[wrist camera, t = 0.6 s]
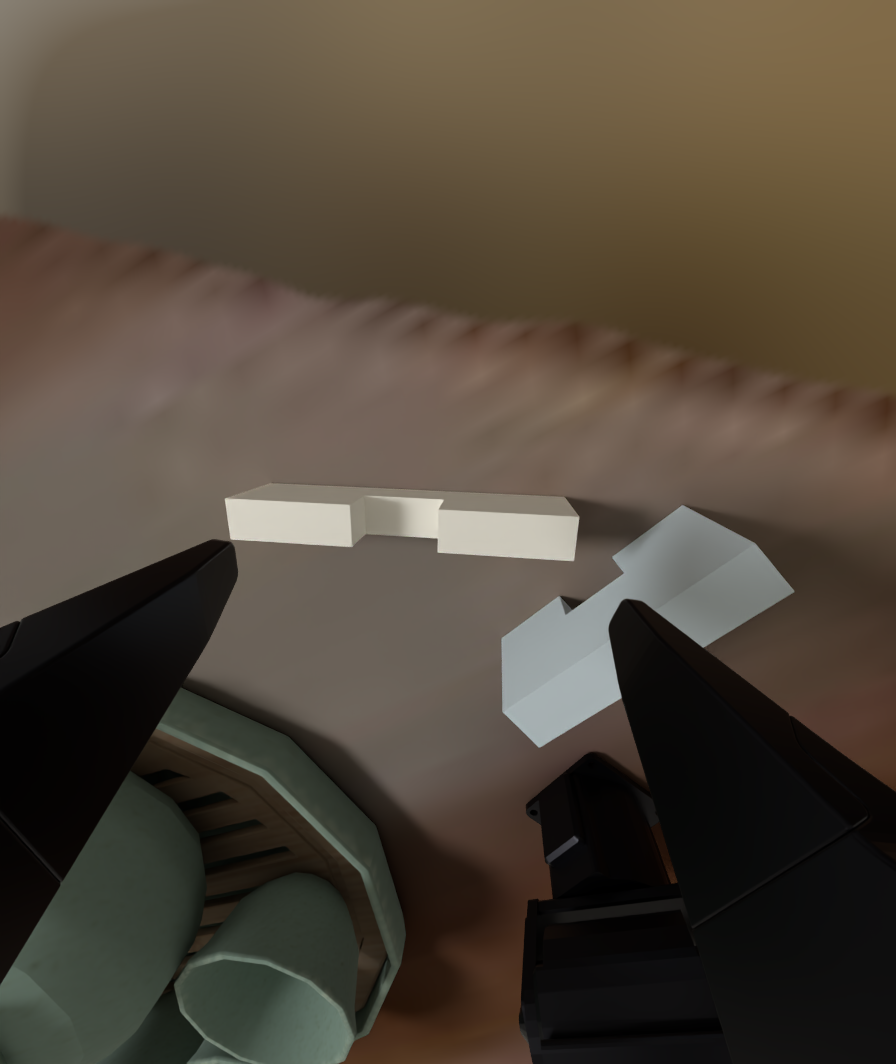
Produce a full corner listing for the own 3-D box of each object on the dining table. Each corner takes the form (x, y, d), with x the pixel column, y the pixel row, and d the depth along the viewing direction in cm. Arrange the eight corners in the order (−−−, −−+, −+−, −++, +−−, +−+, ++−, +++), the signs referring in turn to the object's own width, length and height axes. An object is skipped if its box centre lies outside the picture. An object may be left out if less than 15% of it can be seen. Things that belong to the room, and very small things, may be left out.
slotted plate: (682, 504, 20) (755, 543, 14) (712, 540, 20) (794, 591, 15) (501, 638, 24) (502, 711, 18) (529, 666, 24) (539, 747, 18)
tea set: (144, 1026, 43) (-59, 1382, 27) (-128, 739, 34) (-662, 1022, 18) (488, 989, 34) (479, 1487, 18) (241, 585, 25) (-188, 882, 9)
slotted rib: (564, 496, 21) (579, 516, 17) (560, 533, 21) (573, 561, 17) (271, 483, 22) (224, 498, 19) (275, 517, 23) (230, 539, 19)
